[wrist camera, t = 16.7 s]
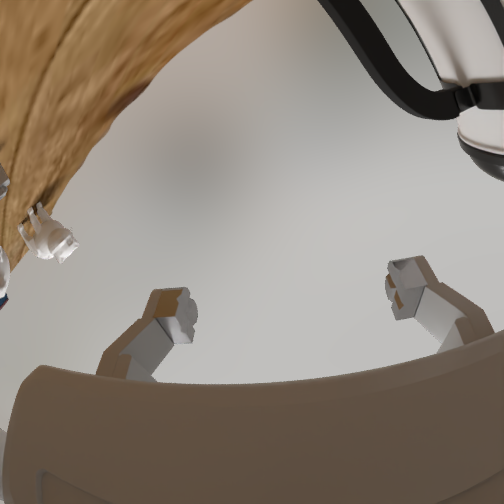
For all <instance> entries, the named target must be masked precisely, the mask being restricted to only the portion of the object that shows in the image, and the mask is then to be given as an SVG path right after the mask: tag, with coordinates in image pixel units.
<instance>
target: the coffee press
mask: <svg viewBox="0 0 504 504" xmlns="http://www.w3.org/2000/svg"><path fill="white" fill-rule="evenodd" d="M318 1H319V3H320V4H321V5H322V7H323V8H324V9H325V11H326V12H327V13H328V15H329V16H330V17H331V18H332V20H333V22H334V23H335V24H336V26H337V27H338V29H339V30H340V31H341V33H342V34H343V36H344V37H345V39H346V40H347V42H348V43H349V45H350V46H351V48H352V49H353V51H354V52H355V54H356V55H357V57H358V59H359V60H360V62H361V63H362V65H363V66H364V68H365V69H366V71H367V72H368V73H369V75H370V76H371V78H372V79H373V80H374V82H375V83H376V84H377V85H378V87H379V88H380V89H381V90H382V91H383V92H384V93H385V94H386V95H387V96H388V97H389V98H390V99H391V100H392V101H393V102H394V103H395V104H397V105H398V106H399V107H400V108H402V109H403V110H405V111H406V112H408V113H410V114H412V115H414V116H417V117H420V118H425V119H432V120H450V119H454V118H456V119H457V122H458V133H457V135H458V139H459V142H460V146H461V148H462V149H463V150H464V151H465V152H466V153H467V154H468V155H470V157H471V159H472V160H473V161H474V163H475V164H476V165H477V166H478V167H479V168H480V169H482V170H483V171H484V172H486V173H487V174H489V175H490V176H492V177H494V178H496V179H498V180H501V181H504V0H395V1H396V2H397V4H398V5H399V7H400V8H401V10H402V11H403V13H404V15H405V16H406V18H407V19H408V21H409V23H410V24H411V26H412V28H413V29H414V31H415V33H416V35H417V36H418V38H419V40H420V42H421V44H422V46H423V47H424V49H425V51H426V53H427V55H428V57H429V59H430V61H431V63H432V65H433V67H434V69H435V72H436V74H437V76H438V78H439V80H440V83H441V85H442V88H443V89H442V90H439V91H435V92H434V91H430V90H428V89H426V88H424V87H423V86H421V85H420V84H419V83H417V82H416V81H415V80H414V79H413V78H412V77H411V76H410V75H409V74H408V73H407V72H406V70H405V69H404V68H403V67H402V65H401V64H400V63H399V61H398V59H397V58H396V56H395V55H394V53H393V51H392V50H391V48H390V47H389V45H388V43H387V42H386V40H385V38H384V36H383V35H382V33H381V32H380V30H379V28H378V27H377V25H376V24H375V22H374V21H373V19H372V18H371V16H370V15H369V13H368V12H367V11H366V9H365V8H364V6H363V5H362V3H361V2H360V1H359V0H318ZM407 14H408V15H407ZM412 22H413V23H412ZM415 27H416V28H415ZM419 34H420V35H419ZM425 45H426V46H425ZM426 47H427V48H426ZM427 49H428V50H427ZM432 59H433V60H432ZM433 61H434V62H433ZM434 63H435V64H434ZM437 70H438V71H437ZM438 72H439V73H438ZM439 74H440V75H439Z"/></svg>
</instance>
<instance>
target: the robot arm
mask: <svg viewBox="0 0 504 504" xmlns="http://www.w3.org/2000/svg"><path fill="white" fill-rule="evenodd" d="M387 269H388V271H389V274H388V275H387V276H386V280H385V289H386V293H387V297H388V299H389V300H390V301H391V302H393V303H392V307H391V308H392V311H393V313H394V316H395V319H396V320H401V319H407V318H412V317H414V318H415V319H416V320H417V321H418V322H419V323H420V324H421V325H422V326H423V327H424V328H426V329H427V330H428V331H429V332H430V333H431V334H432V335H433V336H434V337H435V338H436V339H437V340H438V341H439V342H440V343H441V344H442V345H441V347H440V349H439V350H438V352H437V354H434V355H430V356H427V357H423V358H420V359H416V360H412V361H408V362H404V363H400V364H396V365H391V366H387V367H382V368H378V369H372V370H367V371H361V372H356V373H350V374H345V375H338V376H331V377H323V378H316V379H307V380H297V381H286V382H272V383H255V384H227V385H226V384H208V385H207V384H177V383H160V382H157V381H156V380H155V379H154V378H153V377H152V376H151V375H152V373H153V372H154V371H155V369H156V368H157V367H158V366H159V364H160V363H161V362H162V360H163V359H164V358H165V356H166V355H167V354H168V353H169V351H170V350H171V349H172V347H173V346H174V344H188V343H192V342H193V337H194V332H195V330H194V328H193V325H194V324H195V323H196V322H197V317H198V313H197V312H198V311H197V306H196V303H195V301H194V300H193V299H191V298H189V297H190V292H189V290H188V288H186V287H181V288H166V289H154V290H153V291H152V292H151V295H150V297H149V300H148V303H147V306H146V308H145V311H144V313H143V316H142V319H138V320H137V321H136V322H135V323H134V324H133V325H131V326H130V327H129V328H128V329H127V330H126V331H125V332H124V333H123V334H122V335H121V336H120V337H119V338H118V339H117V340H116V341H115V342H113V343H112V344H111V345H110V346H109V347H108V348H107V349H106V350H105V351H104V352H103V355H102V358H101V360H100V363H99V366H98V369H97V371H96V375H92V374H85V373H81V372H75V371H70V370H65V369H60V368H56V367H51V366H47V365H40V366H39V367H37V368H36V369H35V370H34V371H33V372H32V373H31V374H30V375H29V376H28V377H27V378H26V379H25V380H24V381H23V382H22V384H21V386H20V388H19V390H18V393H17V396H16V399H15V403H14V406H13V409H12V413H11V417H10V421H9V426H8V431H7V432H5V431H3V430H2V429H0V500H3V501H4V503H5V504H504V330H502V331H500V332H497V333H495V332H494V330H493V328H492V326H491V324H490V322H489V320H488V318H487V316H486V314H485V312H484V310H483V309H481V308H480V307H478V306H477V305H475V304H474V303H473V302H471V301H470V300H468V299H467V298H465V297H464V296H462V295H461V294H459V293H458V292H456V291H455V290H453V289H452V288H450V287H449V286H447V285H446V284H444V283H443V282H442V283H439V281H438V279H437V278H436V276H435V274H434V272H433V271H432V269H431V267H430V266H429V264H428V262H427V260H426V259H425V257H424V256H416V257H411V258H405V259H399V260H393V261H389V263H388V268H387Z"/></svg>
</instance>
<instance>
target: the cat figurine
mask: <svg viewBox="0 0 504 504" xmlns="http://www.w3.org/2000/svg"><path fill="white" fill-rule="evenodd" d="M36 207H37V209H38V210H37V214H38V215H39V216H40V218H41V220H42V222H43V223H42V224H40V223H39V221H38V220H37V217H36V216H35V214H34V213H33V212H34V210H33V209H32V207H30V208H29V209H28V210H27V211H28V214H29V217H30V221H31V223H32V225H33V227H34V229H35V233H34V235H33V237H31V236H29V235H27V233H26V231H25V230H24V226H23V224H22V223H21V224H19V225H18V231H19V232H20V234H21V236H22V237H23V239H24V241H25V243H26V245H27V247H28V248H29V249H30V250H31V252H32V253H33V254H34V255H35V257H40V258H42V259H50V258H53V257H54V256H55V258H56V260H57V261H58V263H60V264H62V263H63V261H64V260H65V259H66V257H68V256H69V255H70V254H71V253H72V252H73V250H75V249H76V248H78V247H79V243H78V242H77V241H76V239H75V238H74V237H73V235H72V232H70V230H68V229H66V228H64V227H63V226H62V224H61V223H59V222H58V221H56V220H52V218H51V217H50V216H49V215H48V214H47V212H46V211H45V210H44V209H43V208H42V204H41V202H39V203H38V204H37V205H36Z"/></svg>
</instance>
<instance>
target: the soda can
mask: <svg viewBox="0 0 504 504" xmlns="http://www.w3.org/2000/svg"><path fill="white" fill-rule="evenodd" d="M7 301H8V298H7V294H6V292H5V296H4V297H1V298H0V310H1V309H2V307H3V306H4V305H5V304H6V302H7Z"/></svg>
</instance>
